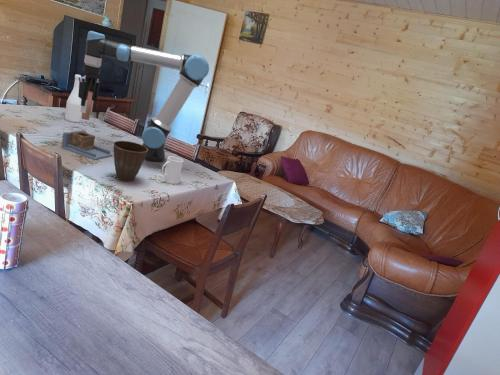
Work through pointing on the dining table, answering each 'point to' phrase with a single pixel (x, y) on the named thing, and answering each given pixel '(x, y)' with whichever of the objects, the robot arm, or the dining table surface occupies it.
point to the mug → (172, 170)
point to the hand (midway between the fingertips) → (86, 112)
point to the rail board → (91, 153)
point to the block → (82, 140)
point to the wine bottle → (74, 103)
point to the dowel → (88, 106)
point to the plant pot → (128, 159)
